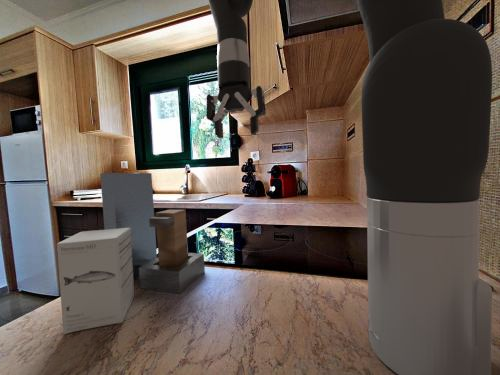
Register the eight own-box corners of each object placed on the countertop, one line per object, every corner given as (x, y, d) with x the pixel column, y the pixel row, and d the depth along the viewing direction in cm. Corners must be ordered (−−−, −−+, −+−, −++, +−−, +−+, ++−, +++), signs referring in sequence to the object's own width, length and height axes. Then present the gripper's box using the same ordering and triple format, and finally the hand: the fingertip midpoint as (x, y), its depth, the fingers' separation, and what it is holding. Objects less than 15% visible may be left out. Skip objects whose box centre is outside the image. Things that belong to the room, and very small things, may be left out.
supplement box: (61, 336, 28) (52, 243, 28) (87, 305, 36) (81, 230, 35) (123, 324, 30) (116, 237, 30) (136, 296, 37) (131, 225, 37)
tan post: (189, 275, 45) (185, 209, 44) (171, 290, 39) (166, 214, 38) (173, 274, 46) (169, 209, 45) (153, 287, 40) (148, 214, 40)
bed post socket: (206, 270, 47) (200, 170, 46) (178, 295, 37) (170, 169, 36) (147, 264, 51) (141, 173, 50) (108, 285, 42) (100, 173, 41)
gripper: (198, 65, 49) (202, 136, 50) (258, 52, 45) (261, 130, 46) (213, 79, 56) (216, 141, 57) (266, 69, 52) (268, 136, 53)
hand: (236, 136), depth 51 cm, fingers open, 8 cm apart
